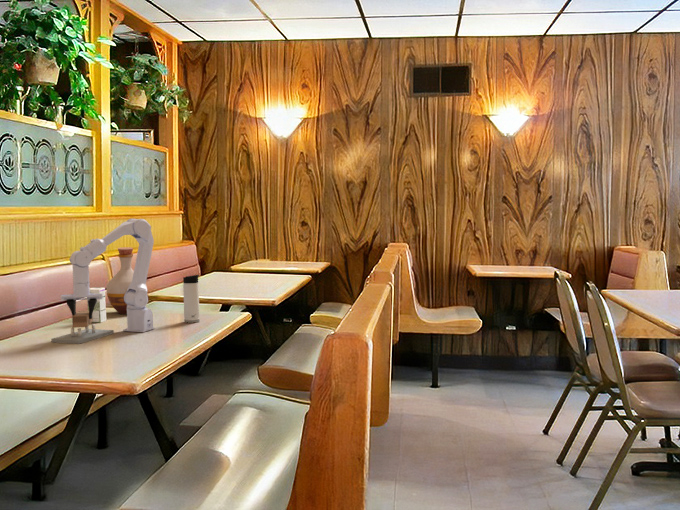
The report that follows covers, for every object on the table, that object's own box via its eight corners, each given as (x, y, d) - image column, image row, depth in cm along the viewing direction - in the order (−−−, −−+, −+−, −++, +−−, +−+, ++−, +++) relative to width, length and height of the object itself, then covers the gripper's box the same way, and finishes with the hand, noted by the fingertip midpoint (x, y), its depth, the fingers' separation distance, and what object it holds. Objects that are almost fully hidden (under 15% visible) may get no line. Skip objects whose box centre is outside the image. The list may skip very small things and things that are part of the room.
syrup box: (106, 320, 288) (105, 287, 287) (100, 323, 282) (99, 288, 281) (94, 320, 289) (92, 287, 288) (87, 322, 283) (86, 288, 282)
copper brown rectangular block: (87, 327, 246) (86, 316, 246) (72, 327, 245) (72, 316, 245) (92, 320, 258) (92, 310, 258) (79, 321, 257) (78, 311, 257)
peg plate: (113, 333, 260) (113, 322, 259) (78, 343, 241) (78, 332, 240) (87, 331, 263) (87, 321, 263) (51, 342, 244) (50, 330, 244)
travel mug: (196, 323, 279) (195, 275, 278) (181, 322, 280) (180, 275, 279) (202, 320, 285) (201, 274, 284) (188, 320, 287) (186, 273, 285)
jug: (105, 310, 314) (102, 247, 312) (144, 307, 322) (142, 245, 319) (109, 317, 296) (106, 249, 294) (150, 314, 304) (148, 248, 301)
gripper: (103, 281, 256) (104, 316, 257) (63, 282, 253) (64, 317, 254) (100, 283, 249) (101, 319, 250) (58, 284, 246) (60, 321, 247)
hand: (82, 318), depth 251 cm, fingers closed on copper brown rectangular block, 5 cm apart
